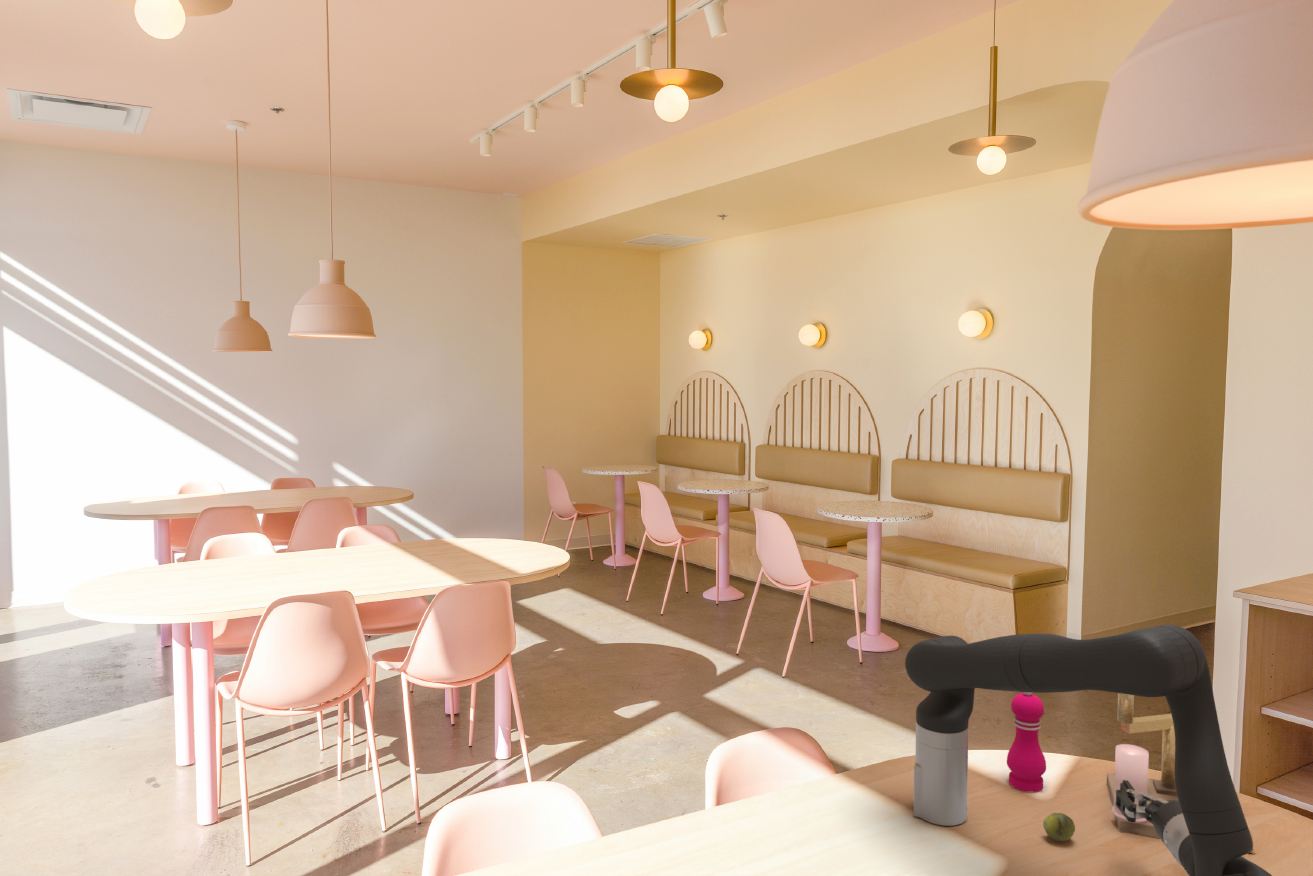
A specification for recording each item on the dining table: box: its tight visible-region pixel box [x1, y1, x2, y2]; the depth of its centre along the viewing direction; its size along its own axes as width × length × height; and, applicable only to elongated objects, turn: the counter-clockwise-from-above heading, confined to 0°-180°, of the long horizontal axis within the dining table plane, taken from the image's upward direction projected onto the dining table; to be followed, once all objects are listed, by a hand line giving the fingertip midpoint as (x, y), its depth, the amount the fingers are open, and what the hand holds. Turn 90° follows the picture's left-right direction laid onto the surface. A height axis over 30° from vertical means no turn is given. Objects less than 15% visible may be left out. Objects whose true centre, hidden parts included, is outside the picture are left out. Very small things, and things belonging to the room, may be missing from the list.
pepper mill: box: [1006, 692, 1047, 793], centre depth 168 cm, size 7×7×20 cm
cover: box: [1111, 743, 1150, 823], centre depth 153 cm, size 6×6×12 cm
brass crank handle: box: [1116, 693, 1175, 785], centre depth 161 cm, size 16×3×27 cm, turn 102°
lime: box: [1043, 812, 1076, 842], centre depth 149 cm, size 4×5×5 cm
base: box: [1106, 772, 1254, 854], centre depth 157 cm, size 20×20×3 cm
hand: (1152, 787), depth 143 cm, fingers open, 8 cm apart
